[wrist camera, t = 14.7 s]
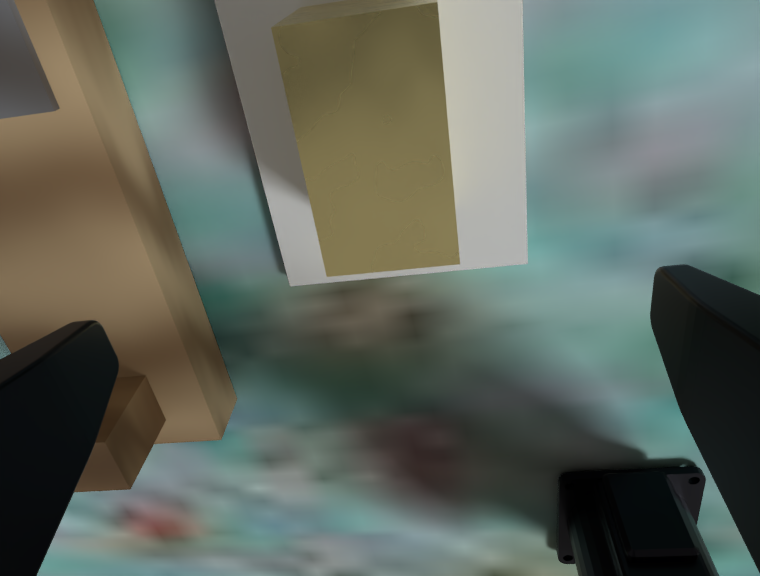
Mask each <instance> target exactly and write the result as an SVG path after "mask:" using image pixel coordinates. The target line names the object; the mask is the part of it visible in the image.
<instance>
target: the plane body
mask: <svg viewBox="0 0 760 576" xmlns="http://www.w3.org/2000/svg"><path fill="white" fill-rule="evenodd" d="M85 320H95V321H98V322H99V323H100V324H101V325H102V326H103V328H104V330H105V332H106V334H107V336H108V338H109V340H110V342H111V344H112V346H113V349H114V351H115V353H116V355H117V357H118V361H119V371H118V375H117V378H116V381H115V384H114V387H113V390H112V393H111V397H110V400H109V403H108V406H107V409H106V412H105V415H104V418H103V421H102V424H101V427H100V430H99V433H98V436H97V439H96V442H95V445H94V447H93V450H92V452H91V455H90V457H89V459H88V462H87V464H86V466H85V469H84V471H83V473H82V475H81V477H80V480H79V482H78V484H77V486H76V489H75V491H74V492H87V491H107V490H127V489H131V487H132V485H133V483H134V481H135V479H136V477H137V476H138V474H139V472H140V470H141V468H142V466H143V464H144V462H145V460H146V458H147V456H148V454H149V452H150V450H151V449H152V447H153V445H154V444H161V443H178V442H194V441H211V440H221V439H222V437H223V434H224V432H225V429H226V426H227V424H228V421H229V419H230V416H231V414H232V411H233V409H234V406H235V403H236V401H237V397H236V394H235V391H234V389H233V386H232V383H231V380H230V378H229V375H228V372H227V369H226V367H225V364H224V361H223V358H222V355H221V353H220V350H219V347H218V344H217V342H216V339H215V336H214V333H213V331H212V328H211V325H210V322H209V319H208V317H207V314H206V311H205V308H204V306H203V303H202V300H201V297H200V295H199V292H198V289H197V286H196V283H195V281H194V278H193V275H192V272H191V270H190V267H189V264H188V261H187V259H186V256H185V253H184V250H183V247H182V245H181V242H180V239H179V236H178V234H177V231H176V228H175V225H174V223H173V220H172V217H171V214H170V211H169V209H168V206H167V203H166V200H165V198H164V195H163V192H162V189H161V186H160V184H159V181H158V178H157V175H156V173H155V170H154V167H153V164H152V162H151V159H150V156H149V153H148V150H147V148H146V145H145V142H144V139H143V137H142V134H141V131H140V128H139V126H138V123H137V120H136V117H135V114H134V112H133V109H132V106H131V103H130V101H129V98H128V95H127V92H126V90H125V87H124V84H123V81H122V78H121V76H120V73H119V70H118V67H117V65H116V62H115V59H114V56H113V54H112V51H111V48H110V45H109V42H108V40H107V37H106V34H105V31H104V29H103V26H102V23H101V20H100V17H99V15H98V12H97V9H96V6H95V4H94V1H93V0H0V335H1V337H2V338H3V340H4V342H5V343H6V345H7V347H8V348H9V350H10V352H11V354H12V353H14V352H15V351H17V350H19V349H21V348H23V347H25V346H27V345H29V344H31V343H33V342H35V341H36V340H38V339H40V338H42V337H44V336H46V335H48V334H50V333H52V332H54V331H56V330H57V329H59V328H61V327H63V326H65V325H67V324H69V323H71V322H75V321H85Z"/></svg>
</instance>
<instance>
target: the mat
mask: <svg viewBox="0 0 760 576" xmlns="http://www.w3.org/2000/svg"><path fill="white" fill-rule="evenodd" d="M214 1H215V5H216V9H217V13H218V16H219V20H220V24H221V28H222V31H223V35H224V39H225V43H226V47H227V50H228V54H229V58H230V62H231V65H232V69H233V73H234V77H235V80H236V84H237V88H238V92H239V96H240V99H241V103H242V107H243V111H244V114H245V118H246V122H247V126H248V130H249V133H250V137H251V141H252V145H253V148H254V152H255V156H256V160H257V164H258V167H259V171H260V175H261V179H262V182H263V186H264V190H265V194H266V198H267V201H268V205H269V209H270V213H271V216H272V220H273V224H274V228H275V232H276V235H277V239H278V243H279V247H280V250H281V254H282V258H283V262H284V265H285V269H286V273H287V277H288V281H289V284H290V286H299V285H310V284H320V283H331V282H341V281H352V280H362V279H373V278H383V277H394V276H404V275H415V274H425V273H436V272H446V271H457V270H467V269H478V268H488V267H499V266H509V265H520V264H528V254H527V205H526V155H525V105H524V55H523V5H522V0H437V2H438V13H439V24H440V36H441V48H442V59H443V71H444V82H445V94H446V106H447V117H448V129H449V140H450V152H451V163H452V175H453V187H454V198H455V210H456V221H457V233H458V245H459V256H460V264H459V265H448V266H438V267H427V268H417V269H406V270H396V271H385V272H375V273H364V274H354V275H343V276H333V277H327V276H326V272H325V267H324V263H323V259H322V254H321V250H320V245H319V241H318V236H317V232H316V227H315V223H314V218H313V214H312V209H311V205H310V200H309V196H308V191H307V187H306V182H305V178H304V173H303V169H302V165H301V160H300V156H299V151H298V147H297V142H296V138H295V133H294V129H293V124H292V120H291V115H290V111H289V106H288V102H287V97H286V93H285V88H284V84H283V79H282V75H281V71H280V66H279V62H278V57H277V53H276V48H275V44H274V39H273V35H272V30H271V27H272V26H274V25H275V24H277V23H278V22H280V21H281V20H283V19H284V18H286V17H287V16H289V15H290V14H291V13H293V12H294V11H296V10H297V9H299V8H300V7H306V6H312V5H319V4H325V3H332V2H338V1H344V0H214Z"/></svg>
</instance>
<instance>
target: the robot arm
mask: <svg viewBox="0 0 760 576" xmlns="http://www.w3.org/2000/svg"><path fill="white" fill-rule="evenodd" d="M650 319H651V326H652V329H653V333H654V335H655V338H656V341H657V344H658V347H659V350H660V353H661V356H662V359H663V362H664V365H665V368H666V371H667V374H668V377H669V380H670V383H671V385H672V388H673V391H674V394H675V397H676V400H677V403H678V405H679V408H680V411H681V413H682V415H683V417H684V420H685V422H686V424H687V426H688V428H689V430H690V432H691V434H692V436H693V438H694V440H695V442H696V444H697V446H698V448H699V451H700V453H701V455H702V457H703V459H704V461H705V463H706V465H707V467H708V469H709V471H710V473H711V475H712V477H713V479H714V481H715V483H716V485H717V487H718V489H719V491H720V493H721V495H722V497H723V499H724V501H725V503H726V505H727V507H728V509H729V512H730V514H731V516H732V518H733V520H734V522H735V524H736V526H737V528H738V530H739V532H740V534H741V536H742V538H743V540H744V542H745V544H746V546H747V548H748V550H749V552H750V554H751V556H752V558H753V560H754V562H755V564H756V566H757V568H758V571H759V573H760V295H758V294H756V293H754V292H751V291H749V290H746V289H744V288H742V287H739V286H737V285H735V284H732V283H730V282H727V281H725V280H723V279H720V278H718V277H716V276H713V275H711V274H709V273H706V272H704V271H701V270H699V269H697V268H694V267H692V266H690V265H685V264H682V265H671V266H662V267H659V268H658V269H657V270H656V272H655V275H654V283H653V292H652V302H651V311H650ZM118 371H119V361H118V357H117V355H116V353H115V351H114V349H113V346H112V344H111V342H110V340H109V338H108V336H107V334H106V332H105V330H104V328H103V326H102V325H101V324H100V323H99V322H98V321H95V320H85V321H75V322H71V323H69V324H67V325H65V326H63V327H61V328H59V329H57V330H56V331H54V332H52V333H50V334H48V335H46V336H44V337H42V338H40V339H38V340H36V341H35V342H33V343H31V344H29V345H27V346H25V347H23V348H21V349H19V350H17V351H15V352H14V353H12V354H10V355H8V356H6V357H4V358H2V359H0V576H37V573H38V571H39V569H40V567H41V564H42V562H43V560H44V558H45V555H46V553H47V551H48V549H49V547H50V544H51V542H52V540H53V538H54V535H55V533H56V531H57V529H58V526H59V524H60V522H61V520H62V518H63V515H64V513H65V511H66V509H67V506H68V504H69V502H70V500H71V498H72V495H73V493H74V491H75V489H76V486H77V484H78V482H79V480H80V477H81V475H82V473H83V471H84V469H85V466H86V464H87V462H88V459H89V457H90V455H91V452H92V450H93V447H94V445H95V442H96V439H97V436H98V433H99V430H100V427H101V424H102V421H103V418H104V415H105V412H106V409H107V406H108V403H109V400H110V397H111V393H112V390H113V387H114V384H115V381H116V378H117V375H118ZM705 481H706V478H705V476H704V474H703V472H702V470H701V469H700V468H698V467H694V466H689V467H669V468H649V469H628V470H608V471H588V472H568V473H564V474H562V475H560V476H559V478H558V494H557V555H558V559H559V561H560V562H561V563H564V564H576V567H577V571H578V575H579V576H719V574H718V572H717V570H716V568H715V565H714V563H713V561H712V559H711V557H710V554H709V552H708V550H707V548H706V546H705V543H704V541H703V539H702V537H701V534H700V532H699V530H698V528H697V521H698V516H699V511H700V506H701V501H702V496H703V491H704V486H705Z"/></svg>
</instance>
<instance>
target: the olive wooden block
mask: <svg viewBox="0 0 760 576" xmlns="http://www.w3.org/2000/svg"><path fill="white" fill-rule="evenodd" d="M271 30H272V35H273V39H274V44H275V48H276V53H277V57H278V62H279V66H280V71H281V75H282V79H283V84H284V88H285V93H286V97H287V102H288V106H289V111H290V115H291V120H292V124H293V129H294V133H295V138H296V142H297V147H298V151H299V156H300V160H301V165H302V169H303V173H304V178H305V182H306V187H307V191H308V196H309V200H310V205H311V209H312V214H313V218H314V223H315V227H316V232H317V236H318V241H319V245H320V250H321V254H322V259H323V263H324V267H325V272H326V276H327V277H333V276H343V275H354V274H364V273H375V272H385V271H396V270H406V269H417V268H427V267H438V266H448V265H459V264H460V256H459V245H458V233H457V221H456V210H455V198H454V187H453V175H452V163H451V152H450V140H449V129H448V117H447V106H446V94H445V82H444V71H443V59H442V48H441V36H440V24H439V13H438V2H437V0H344V1H338V2H332V3H325V4H319V5H312V6H306V7H300V8H299V9H297V10H296V11H294V12H293V13H291V14H290V15H289V16H287V17H286V18H284V19H283V20H281V21H280V22H278V23H277V24H275V25H274V26H272V27H271Z"/></svg>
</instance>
